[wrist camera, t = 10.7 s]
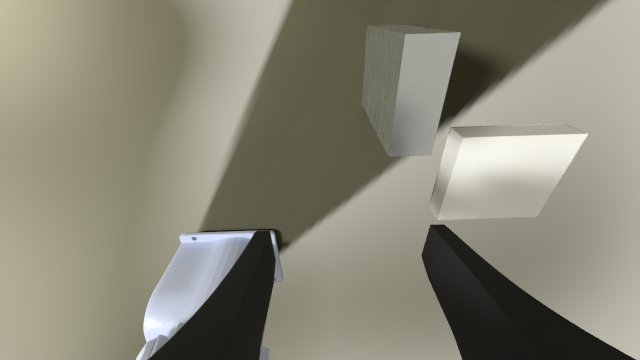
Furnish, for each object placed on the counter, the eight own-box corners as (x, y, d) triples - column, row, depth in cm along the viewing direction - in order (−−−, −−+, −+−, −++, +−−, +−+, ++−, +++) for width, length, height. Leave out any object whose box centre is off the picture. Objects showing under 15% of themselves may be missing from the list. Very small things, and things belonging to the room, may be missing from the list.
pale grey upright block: (362, 105, 18) (388, 156, 12) (367, 25, 16) (405, 34, 9) (389, 104, 18) (431, 155, 12) (398, 24, 16) (460, 32, 9)
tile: (437, 220, 22) (537, 217, 22) (463, 137, 18) (588, 133, 18) (427, 204, 24) (520, 201, 24) (449, 125, 20) (562, 122, 20)
